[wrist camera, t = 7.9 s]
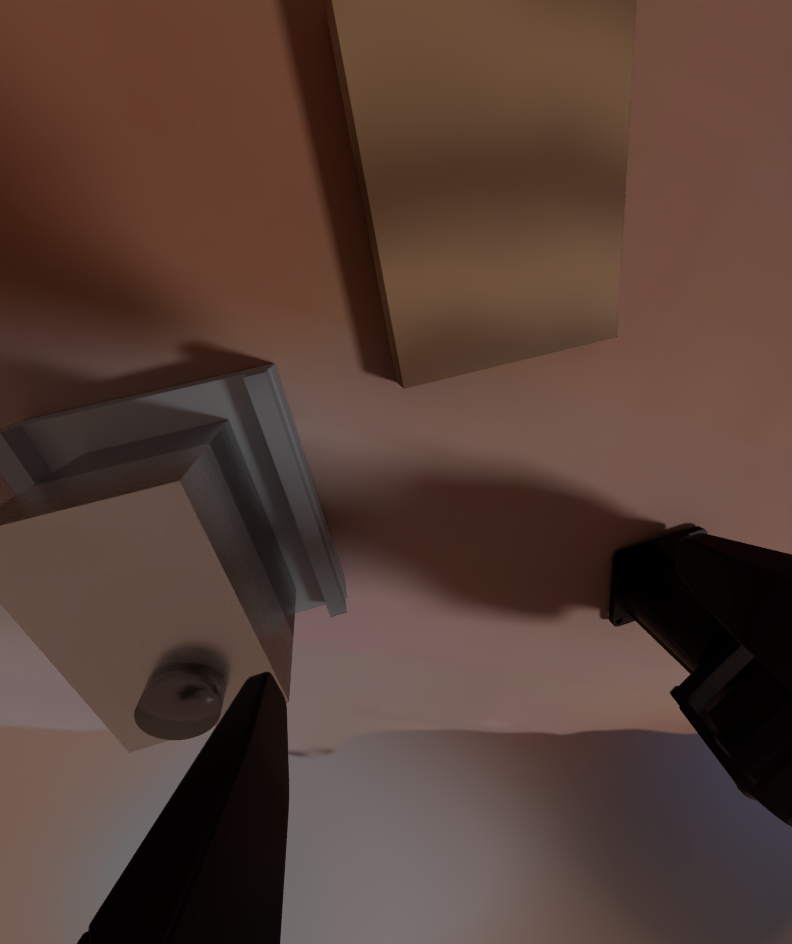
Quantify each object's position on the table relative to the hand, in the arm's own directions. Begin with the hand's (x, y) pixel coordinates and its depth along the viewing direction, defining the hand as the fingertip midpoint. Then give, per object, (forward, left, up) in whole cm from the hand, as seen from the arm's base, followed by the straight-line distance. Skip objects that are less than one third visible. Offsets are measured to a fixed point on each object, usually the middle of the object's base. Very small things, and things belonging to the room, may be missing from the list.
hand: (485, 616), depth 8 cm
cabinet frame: (-1, +9, -12) cm, 15 cm away
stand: (+9, -6, -12) cm, 16 cm away
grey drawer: (-1, +9, -10) cm, 14 cm away
